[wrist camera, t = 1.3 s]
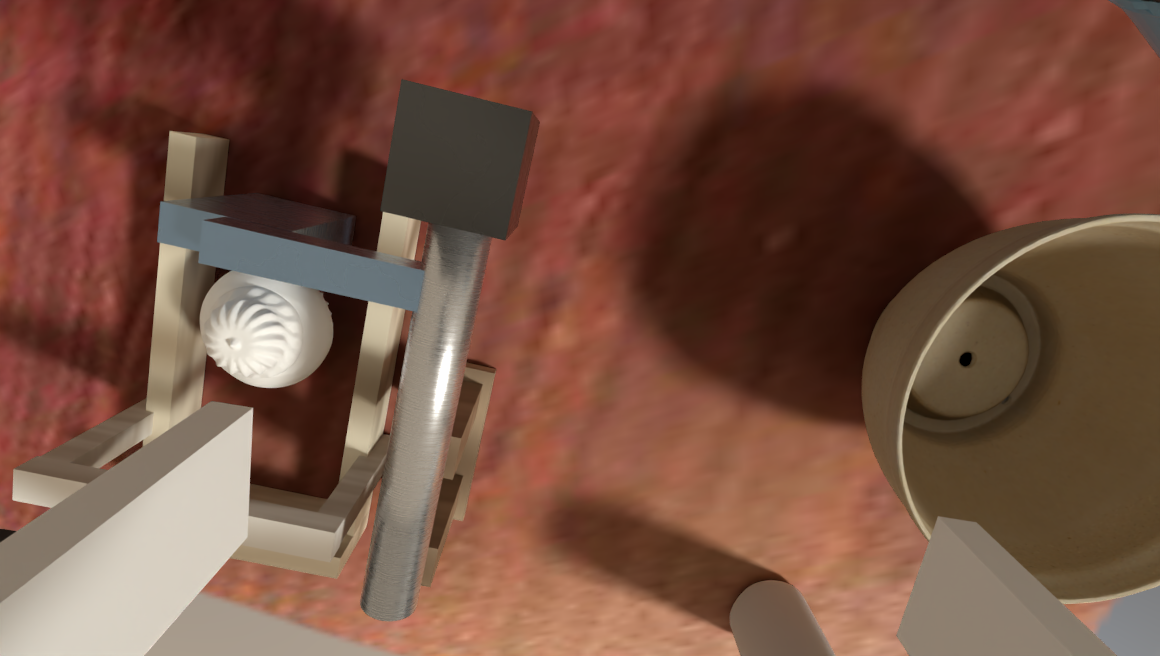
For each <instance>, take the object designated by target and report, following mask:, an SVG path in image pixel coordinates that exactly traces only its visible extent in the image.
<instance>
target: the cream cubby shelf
mask: <svg viewBox="0 0 1160 656" xmlns="http://www.w3.org/2000/svg"><path fill="white" fill-rule="evenodd" d="M495 373H496V369H494V368H489V367H485V366H480V365H476V364H471V363H467V362H466V367H465V372H464V377H463V382H462V387H461V392H460V396H459V401H458V406H457V411H456V416H455V421H454V426H453V431H452V436H451V440H450V445H449V450H448V455H447V460H446V465H445V470H444V475H443V480H442V484H441V489H440V494H439V499H438V504H437V509H436V514H435V519H434V524H433V528H432V533H431V538H430V543H429V548H428V553H427V558H426V563H425V568H424V572H423V577H422V582H421V585H422V586H427V587H430V586H431V583H432V580H433V577H434V574H435V571H436V568H437V565H438V562H439V559H440V556H441V553H442V550H443V547H444V544H445V541H446V538H447V535H448V532H449V529H450V526H451V523H452V520H453V519H455V520H460V521H463V519H464V516H465V512H466V507H467V503H468V498H469V493H470V489H471V484H472V479H473V475H474V470H475V466H476V461H477V456H478V452H479V447H480V442H481V438H482V433H483V429H484V424H485V419H486V415H487V410H488V405H489V401H490V396H491V392H492V387H493V382H494V378H495Z"/></svg>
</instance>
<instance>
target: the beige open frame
mask: <svg viewBox="0 0 1160 656" xmlns="http://www.w3.org/2000/svg"><path fill="white" fill-rule="evenodd" d="M228 149H229V140H228V139H224V138H220V137H216V136H212V135H207V134H200V133H188V132H176V131H170V133H169V145H168V157H167V168H166V180H165V192H164V201H170V200H181V199H192V198H204V197H215V196H224V186H225V177H226V168H227V158H228ZM420 224H421V221H420V220H416V219H412V218H408V217H403V216H399V215H395V214H391V213H386V212H383V216H382V222H381V228H380V234H379V240H378V247H377V252H381V253H385V254H390V255H394V256H398V257H403V258H407V259H411V260H414V257H415V252H416V246H417V241H418V235H419V229H420ZM198 260H199V251H195V250H190V249H186V248H181V247H177V246H173V245H168V244H164V243H160V250H159V262H158V273H157V285H156V297H155V308H154V320H153V332H152V344H151V355H150V367H149V379H148V390H147V398H146V399H144V400H142V401H140V402H139V403H137V404H135V405H133V406H131V407H130V408H128V409H126V410H124V411H122V412H120V413H119V414H117V415H115V416H113V417H111V418H110V419H108V420H106V421H104V422H102V423H100V424H99V425H97V426H95V427H93V428H91V429H90V430H88V431H86V432H84V433H82V434H80V435H79V436H77V437H75V438H73V439H71V440H70V441H68V442H66V443H64V444H62V445H60V446H59V447H57V448H55V449H53V450H51V451H50V452H48V453H46V454H44V455H42V456H37V457H35V458H33V459H31V460H29V461H27V462H26V463H24V464H22V465H20V466H18V467H16V468H15V469H14V474H13V500H14V501H19V502H25V503H30V504H35V505H40V506H45V507H50V508H52V507H54V506H55V505H57V504H58V503H60V502H61V501H63V500H64V499H66V498H67V497H69V496H70V495H72V494H73V493H75V492H76V491H78V490H79V489H81V488H82V487H84V486H85V485H87V484H88V483H90V482H91V481H93V480H94V479H96V478H97V477H99V476H100V475H102V474H103V473H105V472H106V471H108V470H104V469H99V468H100V467H102V466H103V465H105V464H106V463H108V462H109V461H111V460H112V459H114V458H116V457H117V456H119V455H120V454H122V453H123V452H125V451H126V450H128V449H130V448H131V447H133V446H134V445H136V444H137V443H139V442H140V441H142V440H143V447H144V446H145V445H147V444H148V443H150V442H151V441H153V440H154V439H156V438H157V437H159V436H160V435H162V434H163V433H165V432H166V431H168V430H169V429H171V428H172V427H174V426H175V425H176V424H178V423H179V422H181V421H182V420H184V419H185V418H187V417H188V416H190V415H191V414H193V413H194V412H196V411H197V410H199V409H200V408H201V402H202V393H203V383H204V374H205V365H206V355H207V349H206V347H205V344H204V342H203V339H202V335H201V330H200V312H201V307H202V304H203V301H204V299H205V297H206V295H207V293H208V292H209V290H210V289H211V287H212V286H213V285H214V280H215V271H216V267H214V266H210V265H205V264H201V263H198ZM404 314H405V309H401V308H397V307H392V306H388V305H383V304H379V303H374V302H370V301H368V308H367V314H366V320H365V326H364V332H363V338H362V344H361V350H360V356H359V362H358V369H357V375H356V381H355V387H354V393H353V399H352V405H351V411H350V417H349V423H348V429H347V436H346V442H345V448H344V454H343V460H342V466H341V472H340V478H339V484H338V485H337V487H336V488H335V489H334V491H333V492H332V494H331V495H330V496H329V498H328V499H323V498H318V497H313V496H309V495H304V494H299V493H294V492H289V491H284V490H279V489H274V488H269V487H264V486H259V485H254V484H250V491H249V514H248V537H247V538H246V540H245V541H244V542H243V543H242V544H241V545H240V546H239V548H238V549H237V550H236V551H235V552H234V553H233V554H232V556H231V557H230V558H233V559H238V560H243V561H248V562H253V563H259V564H264V565H269V566H274V567H279V568H284V569H289V570H295V571H300V572H305V573H310V574H315V575H320V576H325V577H331V578H336V579H337V578H338V576H339V574H340V573H341V571H342V569H343V567H344V565H345V564H346V562H347V560H348V558H349V557H350V555H351V553H352V551H353V550H354V548H355V546H356V544H357V542H358V541H359V539H360V537H361V535H362V534H363V532H364V530H365V528H366V527H367V522H368V516H369V510H370V505H371V499H372V493H373V489H374V488H375V486H376V485H377V483H378V481H379V480H380V478H381V476H382V475H383V472H384V466H385V461H386V455H387V450H388V444H389V439H390V435H386V434H383V432H384V426H385V420H386V415H387V409H388V404H389V398H390V392H391V387H392V381H393V375H394V370H395V364H396V359H397V353H398V347H399V342H400V336H401V330H402V325H403V319H404Z"/></svg>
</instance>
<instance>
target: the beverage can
mask: <svg viewBox="0 0 1160 656" xmlns="http://www.w3.org/2000/svg"><path fill="white" fill-rule="evenodd" d="M730 626H731V629H732V632H733V635H734V638H735V641H736V644H737V647H738V650H739V652H740V655H741V656H836V655H835V654H834V652H833V650H832V648H831V646H830V645H829V643H828V641H827V639H826V637H825V635H824V633H823V632H822V630H821V628H820V626H819V624H818V622H817V620H816V619H815V617H814V615H813V613H812V611H811V609H810V608H809V606H808V604H807V602H806V600H805V598H804V597H803V595H802V594H801V593H800V591H799V590H797V589H796V588H795V587H794V586H793V585H790V584H788V583H785V582H783V581H776V580H767V581H760V582H757V583H754V584H752V585H751V586H749V587H748V588H746V589H745V590H744V591H743V592H742V593H741V594H740V595H739V597H738V598H737V600H736V601H735V603H734V604H733V606H732V609H731V612H730Z"/></svg>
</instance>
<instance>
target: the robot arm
mask: <svg viewBox="0 0 1160 656" xmlns="http://www.w3.org/2000/svg"><path fill="white" fill-rule="evenodd" d="M1109 1H1110V2H1112V3H1113V4H1115V5H1117V6H1118V7H1120V8H1122V9H1123V10H1124V12H1125V13H1126V14H1127V15H1128V17H1129V18H1130V19H1131V20H1132V22H1133V23H1134V24H1135V25H1136V27H1137V28H1138V30H1139V31H1140V32H1141V34H1142V35H1143V36H1144V38H1145V39H1146V40H1147V42H1148V43H1149V45H1150V46H1151V47H1152V49H1153V50H1154V51H1155V53H1156V54H1157V55H1158V57H1159V58H1160V0H1109ZM252 422H253V408H252V407H245V406H239V405H233V404H227V403H220V402H214V401H211V402H209V403H208V404H206V405H205V406H203V407H202V408H200V409H199V410H197V411H196V412H194V413H193V414H191V415H190V416H188V417H187V418H185V419H184V420H182V421H181V422H179V423H178V424H176V425H175V426H174V427H172V428H171V429H169V430H168V431H166V432H165V433H163V434H162V435H160V436H159V437H157V438H156V439H154V440H153V441H151V442H150V443H148V444H147V445H145V446H144V447H142V448H141V449H139V450H138V451H136V452H135V453H133V454H132V455H130V456H129V457H127V458H126V459H124V460H123V461H121V462H120V463H118V464H117V465H115V466H114V467H112V468H111V469H109V470H108V471H106V472H105V473H103V474H102V475H100V476H99V477H97V478H96V479H94V480H93V481H91V482H90V483H88V484H87V485H85V486H84V487H82V488H81V489H79V490H78V491H76V492H75V493H73V494H72V495H70V496H69V497H67V498H66V499H64V500H63V501H61V502H60V503H58V504H57V505H55V506H54V507H52V508H51V509H49V510H48V511H46V512H45V513H43V514H42V515H40V516H39V517H37V518H36V519H35V520H33V521H32V522H30V523H29V524H27V525H26V526H24V527H23V528H21V529H20V530H18V531H11V530H5V529H0V656H144V655H145V654H146V653H147V652H148V651H149V649H150V648H151V647H152V646H153V645H154V644H155V643H156V641H157V640H158V639H159V638H160V637H161V636H162V635H163V633H164V632H165V631H166V630H167V629H168V628H169V627H170V625H171V624H172V623H173V622H174V621H175V619H176V618H177V617H178V616H179V615H180V614H181V613H182V612H183V611H184V609H185V608H186V607H187V606H188V605H189V604H190V602H191V601H192V600H193V599H194V598H195V597H196V596H197V595H198V593H199V592H200V591H201V590H202V589H203V588H204V587H205V585H206V584H207V583H208V582H209V581H210V580H211V579H212V577H213V576H214V575H215V574H216V573H217V572H218V570H219V569H220V568H221V567H222V566H223V565H224V564H225V562H226V561H227V560H228V559H229V558H230V557H231V556H232V554H233V553H234V552H235V551H236V550H237V549H238V548H239V546H240V545H241V544H242V543H243V542H244V541H245V540H246V538H247V537H248V514H249V491H250V468H251V445H252ZM896 636H897V637H898V639H899V640H900V642H901V643H902V645H903V647H904V648H905V650H906V651H907V653H908V654H909V656H1117V655H1116V654H1115V653H1114V652H1113V651H1112V650H1110V648H1108V647H1107V646H1106V645H1105V644H1104V643H1103V642H1102V641H1101V640H1100V639H1099V638H1098V637H1097V636H1096V635H1095V634H1094V633H1093V632H1092V631H1091V630H1090V629H1088V628H1087V627H1086V626H1085V625H1084V624H1083V623H1082V622H1081V621H1080V620H1079V619H1078V618H1077V617H1076V616H1075V615H1074V614H1073V613H1072V612H1071V611H1069V610H1068V609H1067V608H1066V607H1065V606H1064V605H1063V604H1062V603H1061V602H1060V601H1059V600H1058V599H1057V598H1056V597H1055V596H1054V595H1053V594H1052V593H1050V592H1049V591H1048V590H1047V589H1046V588H1045V587H1044V586H1043V585H1042V584H1041V583H1040V582H1039V581H1038V580H1037V579H1036V578H1035V577H1034V576H1033V575H1031V574H1030V573H1029V572H1028V571H1027V570H1026V569H1025V568H1024V567H1023V566H1022V565H1021V564H1020V563H1019V562H1018V561H1017V560H1016V559H1015V558H1014V557H1012V556H1011V555H1010V554H1009V553H1008V552H1007V551H1006V550H1005V549H1004V548H1003V547H1002V546H1001V545H1000V544H999V543H998V542H997V541H996V540H995V539H993V538H992V537H991V536H990V535H989V534H988V533H987V532H986V531H985V530H984V529H983V528H982V527H981V526H980V525H979V524H978V523H977V522H971V521H965V520H959V519H952V518H946V517H940V516H938V518H937V521H936V524H935V526H934V529H933V532H932V535H931V538H930V541H929V544H928V546H927V549H926V552H925V555H924V558H923V561H922V564H921V566H920V569H919V572H918V575H917V578H916V581H915V584H914V586H913V589H912V592H911V595H910V598H909V601H908V604H907V606H906V609H905V612H904V615H903V618H902V621H901V624H900V627H899V629H898V632H897V635H896Z"/></svg>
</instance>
